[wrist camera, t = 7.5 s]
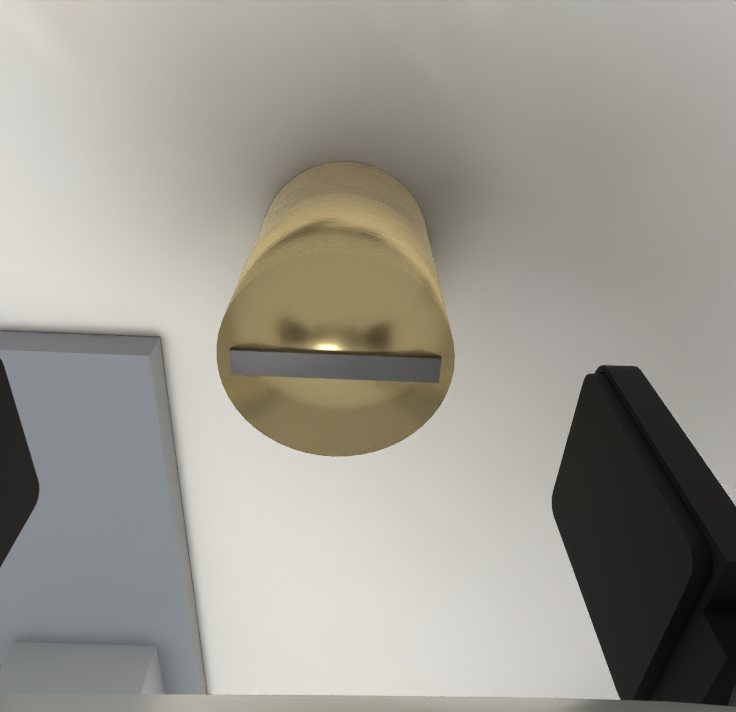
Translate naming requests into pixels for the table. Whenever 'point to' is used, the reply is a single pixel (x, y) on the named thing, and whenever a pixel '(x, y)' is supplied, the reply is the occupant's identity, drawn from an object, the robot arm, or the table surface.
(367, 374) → the cylinder
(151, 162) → the table surface
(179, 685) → the station
